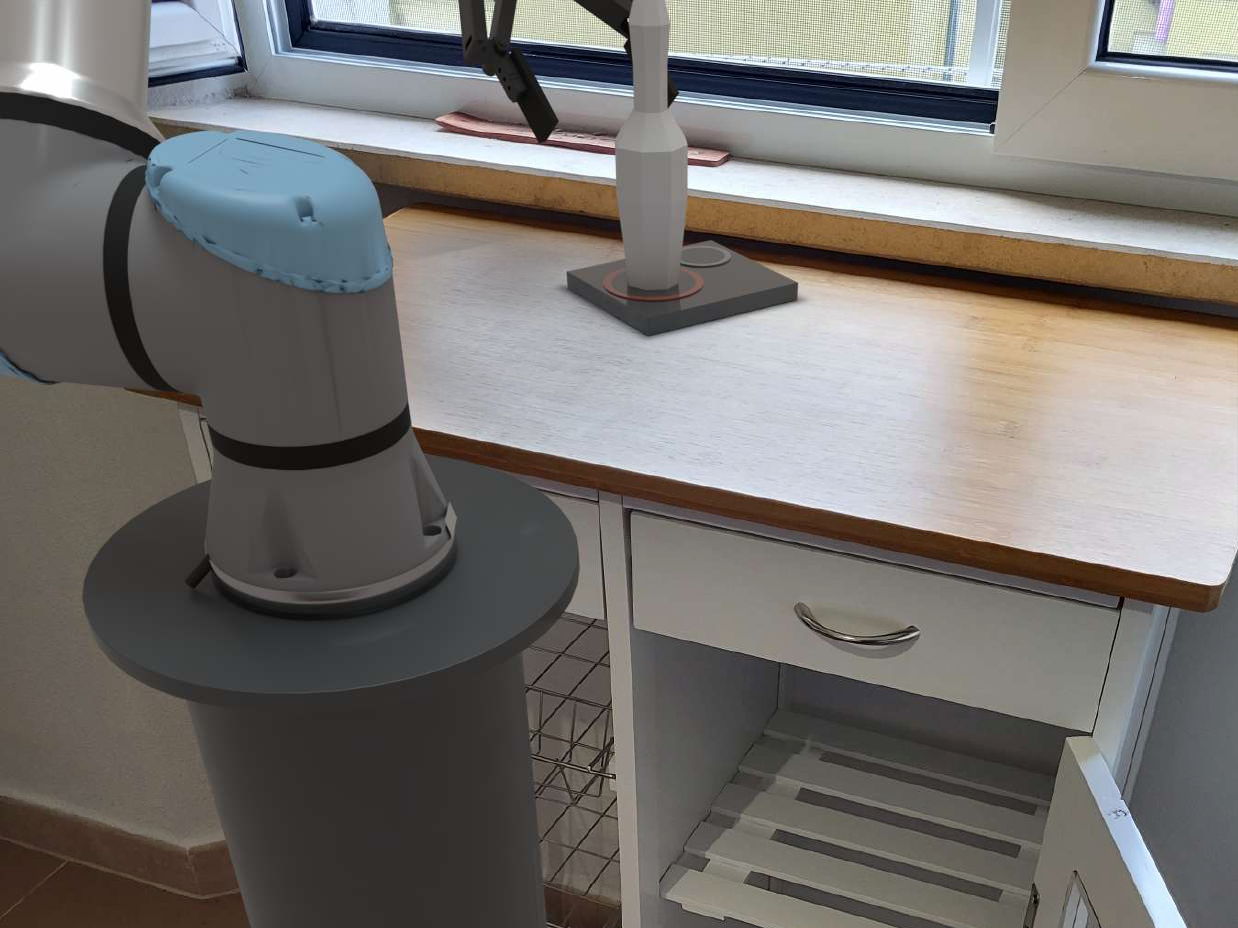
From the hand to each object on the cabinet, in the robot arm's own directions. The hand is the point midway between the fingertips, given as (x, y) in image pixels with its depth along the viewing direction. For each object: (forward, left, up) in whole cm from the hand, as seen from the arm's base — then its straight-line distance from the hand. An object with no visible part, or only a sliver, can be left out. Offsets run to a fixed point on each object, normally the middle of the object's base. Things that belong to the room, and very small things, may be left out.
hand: (610, 118), depth 121 cm
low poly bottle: (+1, -5, -12) cm, 13 cm away
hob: (+4, -5, -14) cm, 15 cm away
